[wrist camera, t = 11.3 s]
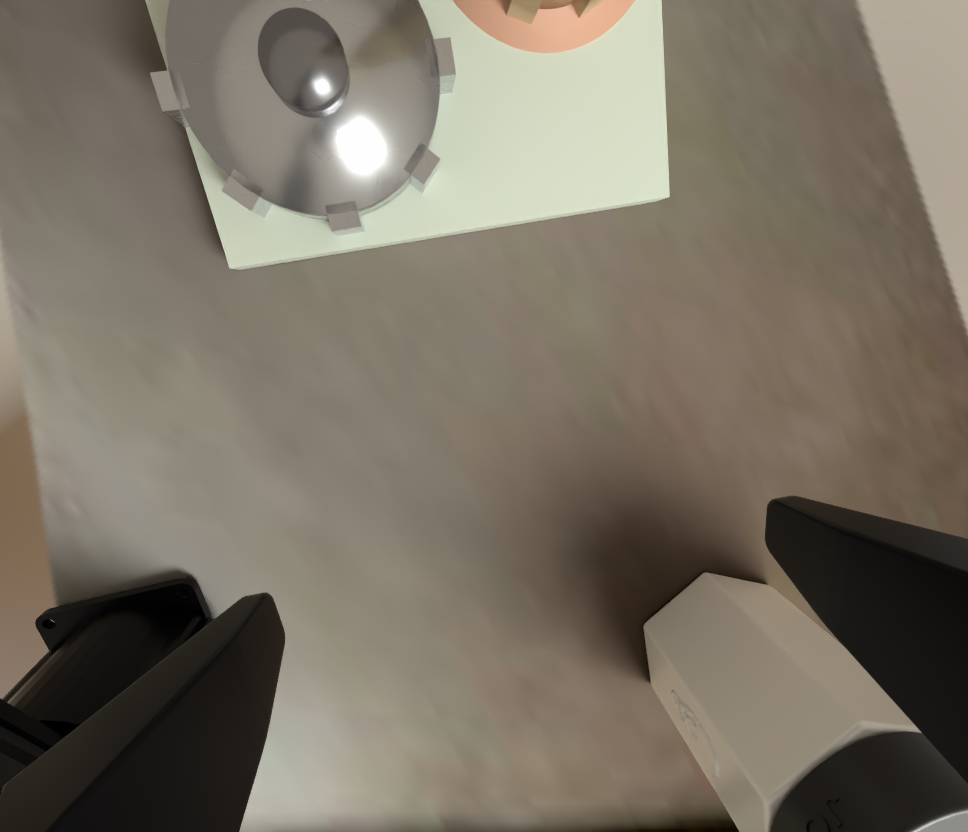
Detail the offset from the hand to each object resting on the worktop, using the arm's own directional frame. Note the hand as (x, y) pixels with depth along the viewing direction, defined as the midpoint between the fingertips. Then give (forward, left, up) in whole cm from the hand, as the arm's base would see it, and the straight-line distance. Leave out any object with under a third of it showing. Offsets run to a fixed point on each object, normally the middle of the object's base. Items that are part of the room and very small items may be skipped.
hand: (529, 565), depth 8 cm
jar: (+12, -17, -13) cm, 24 cm away
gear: (-3, +12, -12) cm, 17 cm away
